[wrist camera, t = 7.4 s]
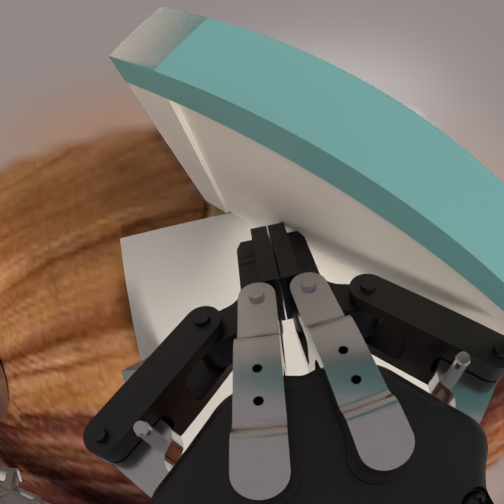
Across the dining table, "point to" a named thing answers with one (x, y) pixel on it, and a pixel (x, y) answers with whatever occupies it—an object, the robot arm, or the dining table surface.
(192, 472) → the robot arm
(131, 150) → the dining table surface
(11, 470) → the grey flat strip
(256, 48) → the gate panel
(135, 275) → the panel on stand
